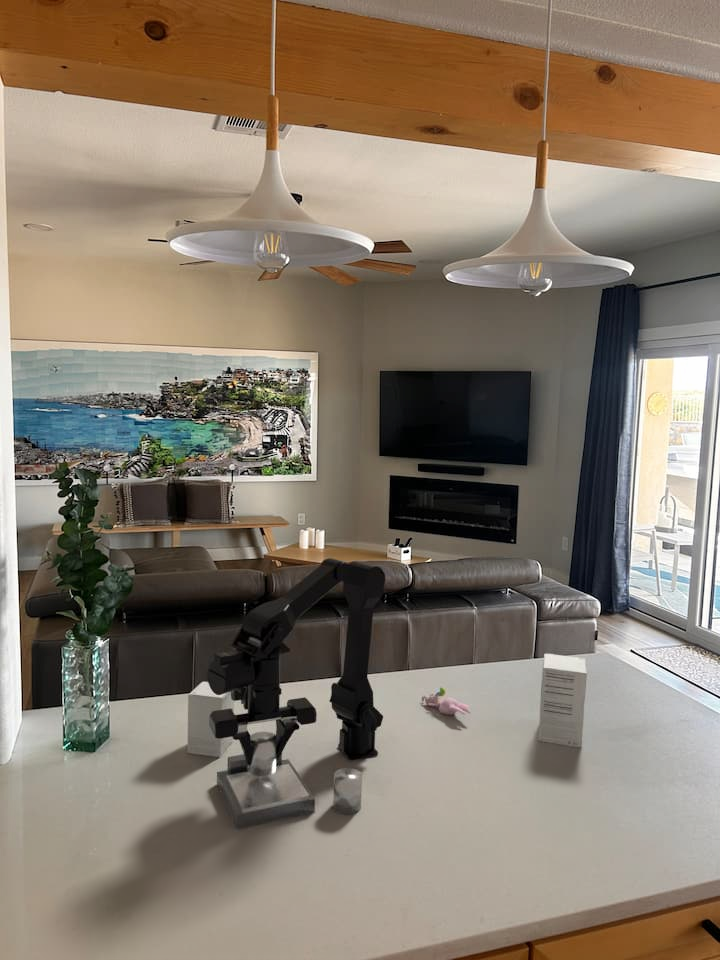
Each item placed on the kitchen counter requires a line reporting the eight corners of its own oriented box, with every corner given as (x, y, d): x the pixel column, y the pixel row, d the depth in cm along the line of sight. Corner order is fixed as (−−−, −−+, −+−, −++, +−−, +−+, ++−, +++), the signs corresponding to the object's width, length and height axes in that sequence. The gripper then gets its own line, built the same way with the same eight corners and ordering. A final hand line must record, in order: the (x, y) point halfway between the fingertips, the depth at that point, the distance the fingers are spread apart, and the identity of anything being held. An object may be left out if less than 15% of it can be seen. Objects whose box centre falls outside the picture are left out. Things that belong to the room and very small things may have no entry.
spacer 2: (354, 796, 132) (355, 765, 131) (365, 811, 128) (366, 779, 127) (329, 802, 130) (329, 770, 129) (339, 817, 125) (340, 784, 125)
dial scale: (288, 770, 140) (288, 746, 140) (314, 811, 127) (315, 785, 126) (216, 784, 135) (217, 758, 134) (236, 828, 121) (237, 800, 121)
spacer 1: (279, 773, 130) (280, 741, 130) (252, 778, 128) (253, 746, 128) (271, 760, 135) (272, 729, 134) (245, 765, 133) (246, 734, 132)
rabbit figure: (416, 709, 173) (457, 724, 161) (415, 685, 173) (456, 697, 161) (436, 704, 177) (478, 718, 164) (435, 680, 177) (476, 692, 164)
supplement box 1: (220, 758, 144) (221, 698, 143) (186, 753, 146) (186, 693, 144) (234, 741, 152) (235, 684, 150) (201, 737, 153) (201, 680, 152)
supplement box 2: (539, 722, 165) (543, 652, 163) (581, 729, 163) (586, 657, 161) (537, 741, 156) (542, 666, 154) (582, 748, 153) (587, 672, 151)
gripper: (298, 658, 141) (296, 733, 143) (202, 670, 133) (202, 750, 135) (318, 679, 131) (316, 760, 132) (216, 693, 123) (215, 779, 125)
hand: (262, 761), depth 131 cm, fingers closed on spacer 1, 5 cm apart
